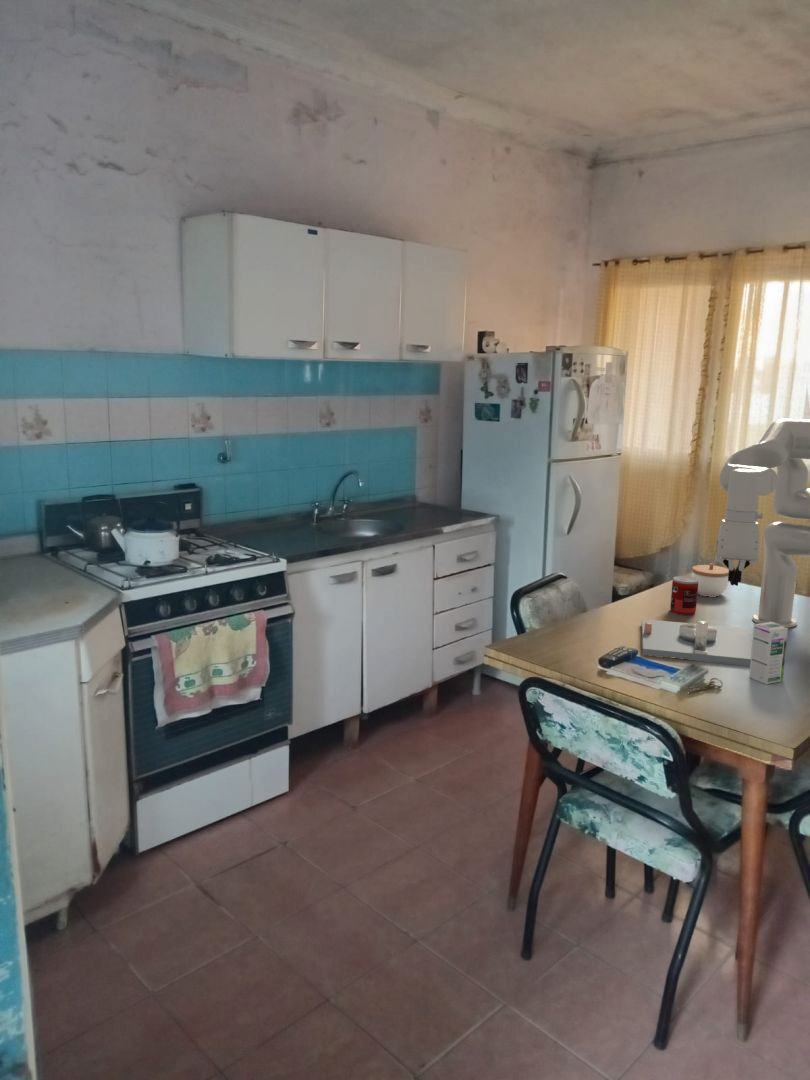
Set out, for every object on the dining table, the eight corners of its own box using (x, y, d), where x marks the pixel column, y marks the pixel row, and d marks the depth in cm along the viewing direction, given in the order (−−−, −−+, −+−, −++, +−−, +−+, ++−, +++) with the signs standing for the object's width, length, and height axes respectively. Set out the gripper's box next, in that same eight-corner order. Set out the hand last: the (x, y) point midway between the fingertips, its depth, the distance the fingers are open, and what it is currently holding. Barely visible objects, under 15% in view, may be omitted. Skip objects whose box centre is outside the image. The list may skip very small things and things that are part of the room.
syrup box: (766, 685, 205) (772, 629, 202) (747, 677, 211) (753, 622, 208) (783, 681, 208) (789, 627, 205) (764, 673, 213) (770, 620, 210)
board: (641, 625, 252) (642, 609, 251) (746, 634, 244) (748, 618, 243) (642, 655, 225) (643, 638, 224) (760, 667, 218) (762, 649, 217)
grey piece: (678, 630, 240) (680, 605, 239) (714, 633, 238) (716, 608, 236) (681, 648, 225) (683, 622, 223) (720, 652, 222) (722, 625, 221)
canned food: (674, 606, 272) (677, 574, 269) (698, 611, 267) (701, 578, 265) (666, 612, 266) (669, 579, 263) (691, 616, 261) (694, 583, 259)
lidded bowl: (684, 594, 287) (686, 563, 284) (697, 587, 296) (700, 557, 294) (720, 601, 279) (723, 569, 276) (733, 594, 288) (736, 563, 286)
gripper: (769, 515, 217) (762, 583, 221) (709, 512, 221) (703, 578, 225) (773, 520, 210) (766, 590, 214) (711, 517, 214) (705, 585, 217)
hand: (733, 584), depth 219 cm, fingers closed
